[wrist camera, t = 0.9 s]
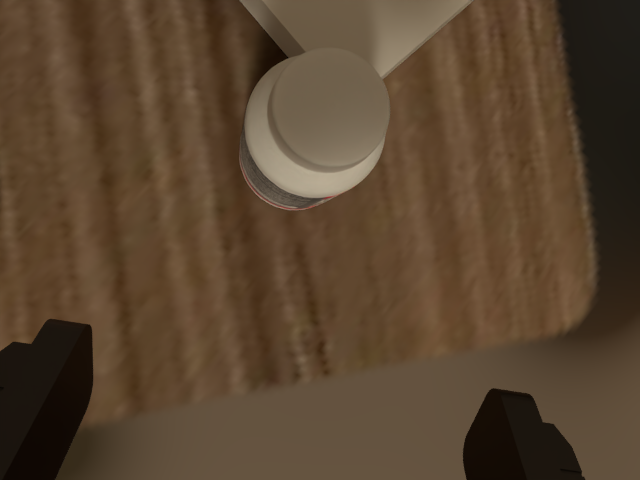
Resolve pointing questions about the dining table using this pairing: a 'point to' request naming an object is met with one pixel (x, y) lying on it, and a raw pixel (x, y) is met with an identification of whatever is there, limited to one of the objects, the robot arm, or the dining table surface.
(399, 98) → the dining table surface
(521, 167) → the dining table surface
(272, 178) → the pill bottle
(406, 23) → the dock
